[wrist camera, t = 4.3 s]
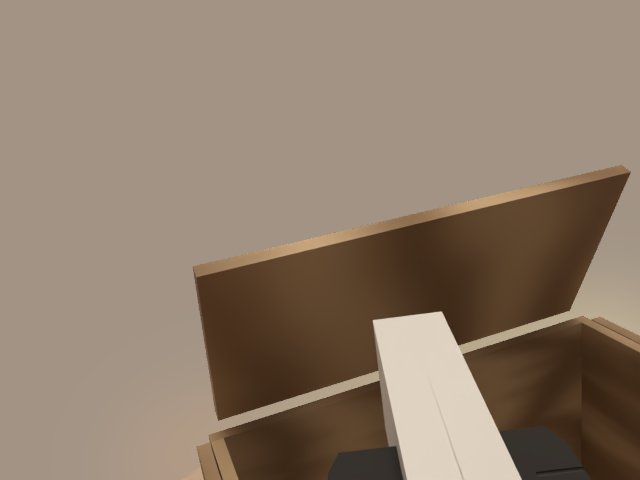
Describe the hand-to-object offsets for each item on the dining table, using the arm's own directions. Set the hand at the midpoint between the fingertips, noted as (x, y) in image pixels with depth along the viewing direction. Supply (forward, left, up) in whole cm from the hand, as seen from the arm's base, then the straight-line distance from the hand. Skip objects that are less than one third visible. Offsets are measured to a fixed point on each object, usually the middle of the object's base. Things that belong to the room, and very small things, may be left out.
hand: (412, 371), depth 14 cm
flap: (-5, -9, -3) cm, 11 cm away
